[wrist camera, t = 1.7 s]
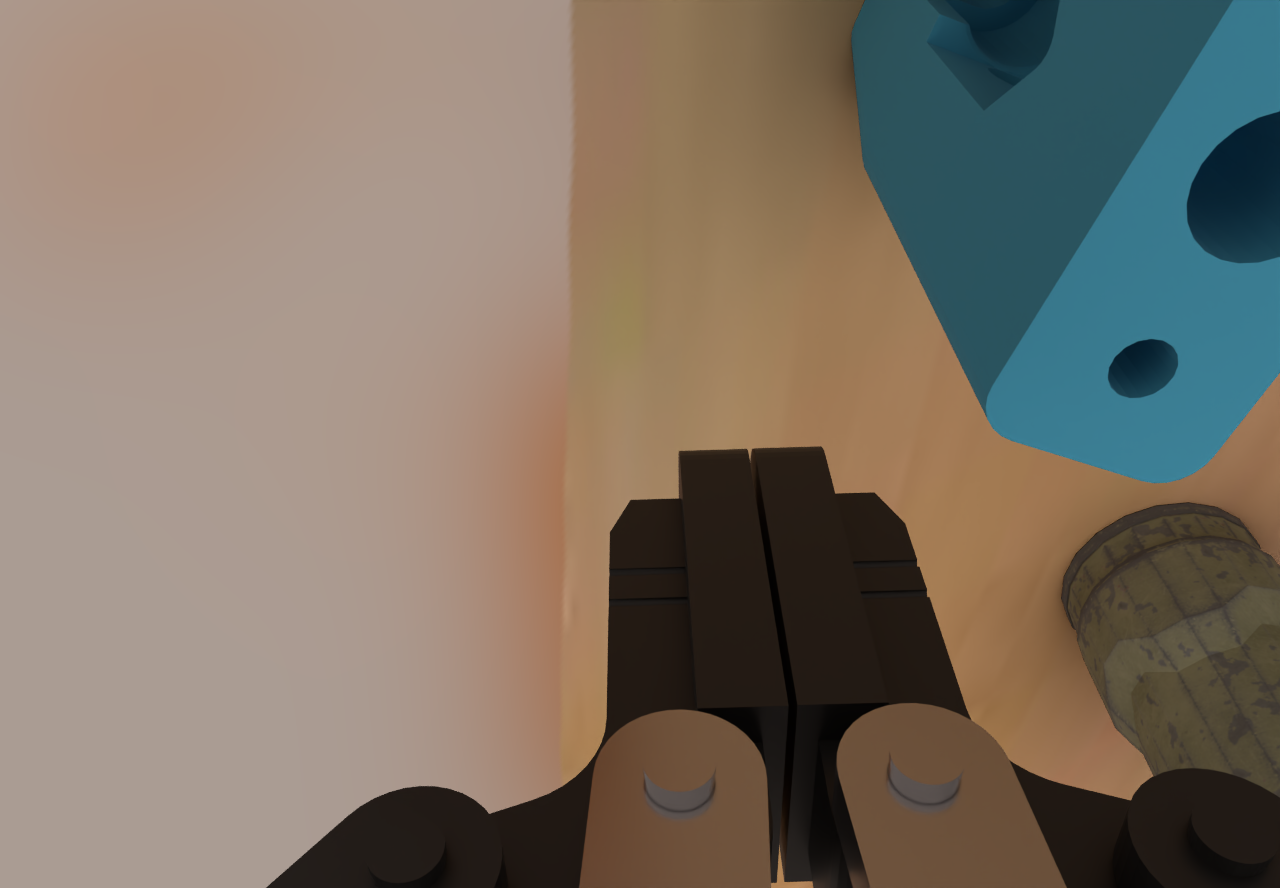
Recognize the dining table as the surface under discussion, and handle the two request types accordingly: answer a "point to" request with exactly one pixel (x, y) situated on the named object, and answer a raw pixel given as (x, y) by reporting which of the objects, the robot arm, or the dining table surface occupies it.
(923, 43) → the block
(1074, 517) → the dining table surface
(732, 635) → the robot arm
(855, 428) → the dining table surface
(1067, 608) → the olive green pouch
